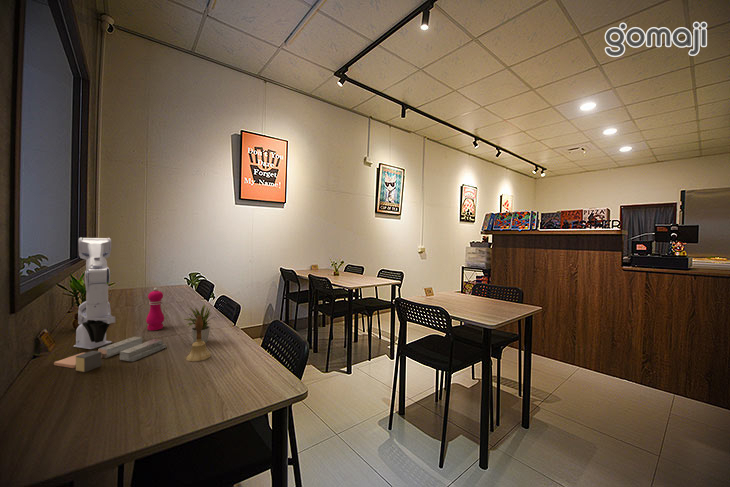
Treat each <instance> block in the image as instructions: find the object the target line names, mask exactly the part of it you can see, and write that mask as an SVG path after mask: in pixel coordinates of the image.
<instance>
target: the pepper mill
mask: <svg viewBox="0 0 730 487" xmlns="http://www.w3.org/2000/svg"><path fill="white" fill-rule="evenodd" d="M147 298H148V300H149V302H148V303H149V311H148V314H147V316H146V318H145V321H146V324H147V328H146V330H147V331H151V332H152V331H159V330H161V329H163V328H164V324H163V322H164V321H165V315H164V313H163V311H162V308H161V304H162V302H163V301H162V299H163V298H164V293H163V292H162V291H160V290H159V288H158V287H154V288H153V291H151V292H149V293H148V295H147Z"/></svg>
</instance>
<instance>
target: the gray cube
mask: <svg viewBox="0 0 730 487" xmlns="http://www.w3.org/2000/svg"><path fill="white" fill-rule="evenodd" d="M99 367H100V368H101V367H102V358H101V352H98V350H90V351H87V352H84V354H81V355H78V356H76V368H75V371H76V372H82V373H87V372H90V371H92V370H94V369H96V368H99Z"/></svg>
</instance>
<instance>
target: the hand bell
mask: <svg viewBox="0 0 730 487" xmlns="http://www.w3.org/2000/svg"><path fill="white" fill-rule="evenodd" d="M195 319H196V318H195ZM194 327H195V328H196V331H197V336H196V337H197V338H196V342H195V343H194V342H193V343H192V344H191V350H190V353H189V354H188V355H187V356H186V357H185V360H186V361H187V362H192V363H193V362H194V363H195V362H202V361H206V360H208V359H209V358H210V357H212V354H211V352H209V351H208V349H207V345H206V343H205V342H203V341H201V331H202V328H203V320H202V317H201V314H200V315H199V316H197V319H196V322H195V324H194Z"/></svg>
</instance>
